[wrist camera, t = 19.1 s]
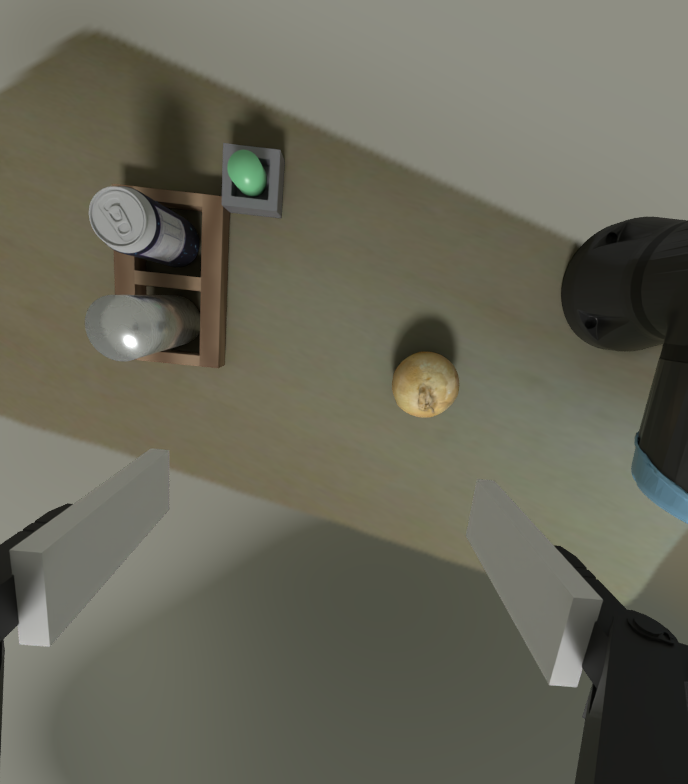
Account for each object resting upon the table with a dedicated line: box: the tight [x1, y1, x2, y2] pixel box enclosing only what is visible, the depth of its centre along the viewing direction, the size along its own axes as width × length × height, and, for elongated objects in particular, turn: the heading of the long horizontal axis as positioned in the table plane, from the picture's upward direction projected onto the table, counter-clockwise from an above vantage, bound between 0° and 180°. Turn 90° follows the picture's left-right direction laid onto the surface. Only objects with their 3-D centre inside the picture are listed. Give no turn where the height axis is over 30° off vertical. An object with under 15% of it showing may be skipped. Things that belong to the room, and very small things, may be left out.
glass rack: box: [112, 184, 230, 368], centre depth 43 cm, size 12×19×2 cm, turn 174°
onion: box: [392, 352, 459, 417], centre depth 43 cm, size 8×8×7 cm
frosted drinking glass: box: [85, 295, 200, 361], centre depth 39 cm, size 6×6×12 cm
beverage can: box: [89, 186, 199, 267], centre depth 37 cm, size 6×6×12 cm
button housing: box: [222, 143, 285, 218], centre depth 40 cm, size 6×6×3 cm
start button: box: [227, 150, 267, 197], centre depth 38 cm, size 3×3×3 cm
